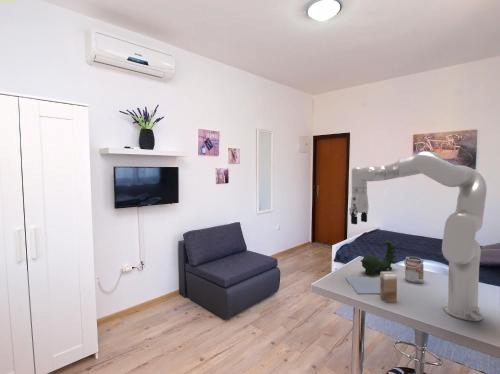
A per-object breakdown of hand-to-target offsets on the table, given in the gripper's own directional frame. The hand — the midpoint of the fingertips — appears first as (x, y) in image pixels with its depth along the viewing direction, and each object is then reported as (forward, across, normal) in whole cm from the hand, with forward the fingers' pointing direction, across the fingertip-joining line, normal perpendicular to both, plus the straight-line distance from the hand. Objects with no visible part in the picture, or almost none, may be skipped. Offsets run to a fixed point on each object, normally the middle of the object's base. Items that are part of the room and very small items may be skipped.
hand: (359, 222), depth 144 cm
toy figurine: (+31, +18, -1) cm, 36 cm away
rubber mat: (+31, -4, -5) cm, 32 cm away
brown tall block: (+31, -11, -20) cm, 39 cm away
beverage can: (+31, +20, -19) cm, 42 cm away
